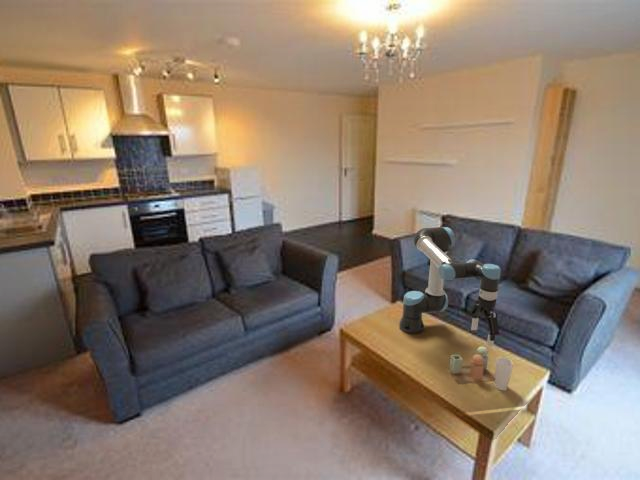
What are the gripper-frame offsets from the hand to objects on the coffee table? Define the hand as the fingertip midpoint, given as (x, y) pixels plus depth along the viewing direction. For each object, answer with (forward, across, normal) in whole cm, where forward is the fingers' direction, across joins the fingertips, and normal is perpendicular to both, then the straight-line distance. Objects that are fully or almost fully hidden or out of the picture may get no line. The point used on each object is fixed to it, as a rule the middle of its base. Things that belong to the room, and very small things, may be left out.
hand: (481, 337), depth 161 cm
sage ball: (+14, -4, +4) cm, 15 cm away
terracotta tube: (+21, +2, -2) cm, 21 cm away
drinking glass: (+22, +9, +7) cm, 25 cm away
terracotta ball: (+14, +2, -2) cm, 14 cm away
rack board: (+22, -1, -3) cm, 22 cm away
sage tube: (+21, -4, -9) cm, 23 cm away
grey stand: (+21, -4, +4) cm, 22 cm away
